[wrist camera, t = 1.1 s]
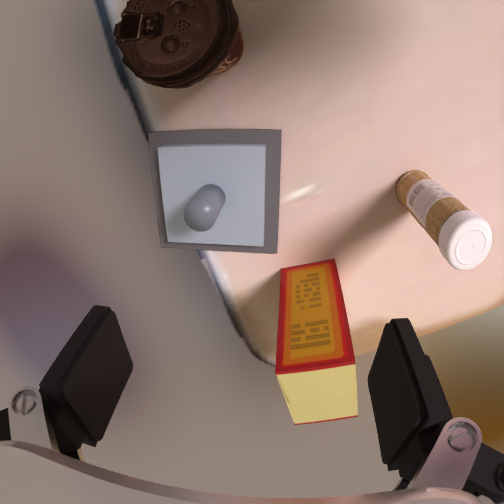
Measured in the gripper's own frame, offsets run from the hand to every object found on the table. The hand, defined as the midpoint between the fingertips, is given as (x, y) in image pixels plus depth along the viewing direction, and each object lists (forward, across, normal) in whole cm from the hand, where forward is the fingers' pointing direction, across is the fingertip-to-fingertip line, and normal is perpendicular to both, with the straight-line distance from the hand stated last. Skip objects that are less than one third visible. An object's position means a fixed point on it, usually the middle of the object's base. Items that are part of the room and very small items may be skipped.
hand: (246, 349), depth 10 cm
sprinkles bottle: (+25, -16, +1) cm, 29 cm away
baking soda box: (+26, -6, +16) cm, 30 cm away
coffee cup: (+24, +6, -14) cm, 29 cm away
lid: (+24, +6, +2) cm, 25 cm away
